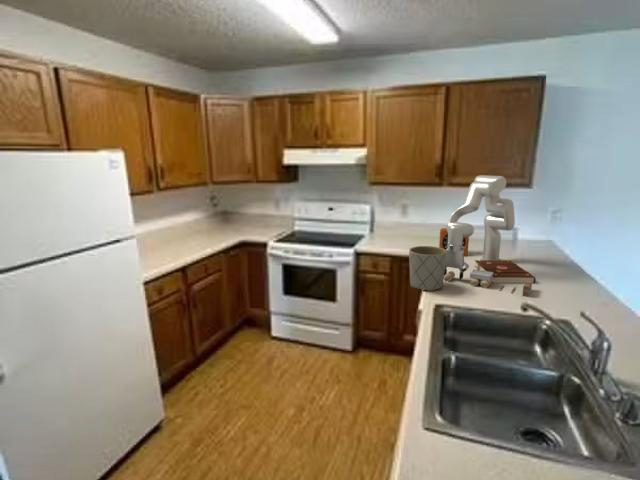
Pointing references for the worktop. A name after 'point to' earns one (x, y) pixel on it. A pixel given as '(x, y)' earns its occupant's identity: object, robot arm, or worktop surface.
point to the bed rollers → (485, 283)
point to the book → (504, 271)
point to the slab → (481, 275)
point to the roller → (449, 276)
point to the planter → (427, 267)
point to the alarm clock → (444, 239)
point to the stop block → (527, 288)
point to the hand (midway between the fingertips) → (452, 277)
